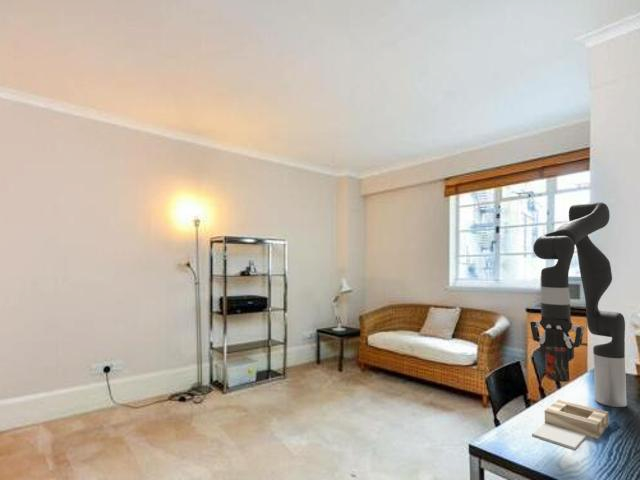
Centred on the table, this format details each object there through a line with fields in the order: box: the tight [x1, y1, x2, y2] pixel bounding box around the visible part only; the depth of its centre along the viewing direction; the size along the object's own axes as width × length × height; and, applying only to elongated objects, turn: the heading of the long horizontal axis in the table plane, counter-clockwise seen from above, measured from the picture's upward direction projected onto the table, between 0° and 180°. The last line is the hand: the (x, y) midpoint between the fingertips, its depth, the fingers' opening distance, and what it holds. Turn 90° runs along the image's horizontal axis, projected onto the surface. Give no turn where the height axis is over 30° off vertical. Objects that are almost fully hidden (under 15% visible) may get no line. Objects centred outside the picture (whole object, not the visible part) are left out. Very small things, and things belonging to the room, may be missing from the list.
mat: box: [531, 422, 587, 451], centre depth 112 cm, size 11×11×1 cm
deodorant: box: [544, 327, 570, 383], centre depth 113 cm, size 6×6×15 cm
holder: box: [544, 399, 610, 439], centre depth 121 cm, size 14×14×4 cm
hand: (556, 358), depth 113 cm, fingers closed on deodorant, 6 cm apart
